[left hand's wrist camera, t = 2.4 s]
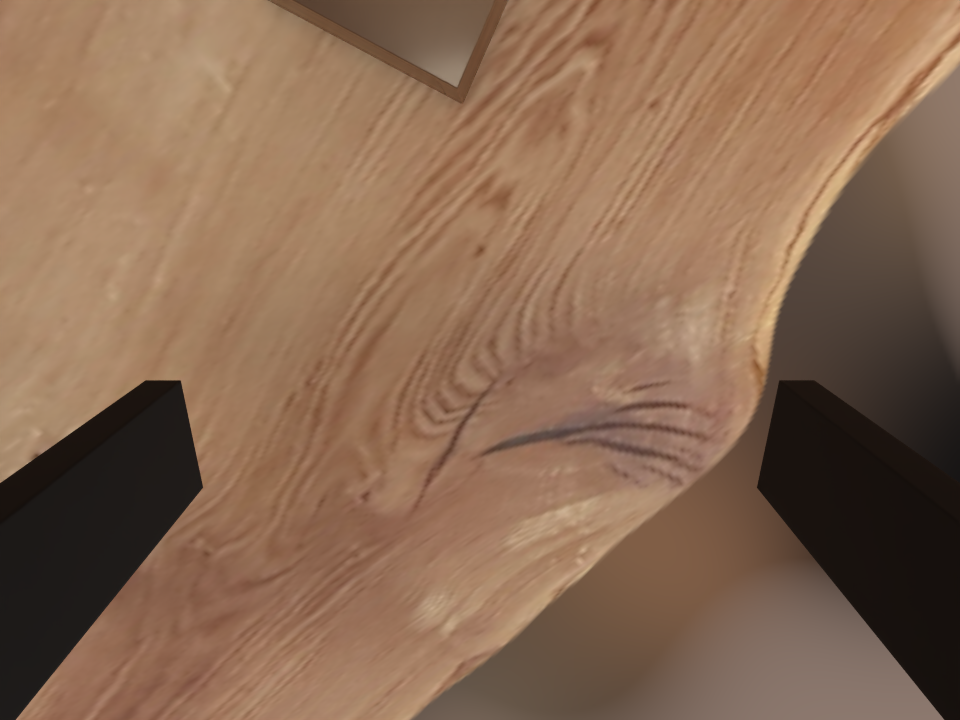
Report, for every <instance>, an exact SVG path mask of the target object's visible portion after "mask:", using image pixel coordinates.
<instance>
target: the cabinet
mask: <svg viewBox="0 0 960 720" xmlns="http://www.w3.org/2000/svg"><path fill="white" fill-rule="evenodd" d="M269 1H270V2H272V3H274V4H276V5H278V6H280V7H282V8H284V9H285V10H287V11H289V12H291V13H293V14H295V15H297V16H299V17H300V18H302V19H304V20H306V21H308V22H310V23H312V24H313V25H315V26H317V27H319V28H321V29H323V30H325V31H327V32H328V33H330V34H332V35H334V36H336V37H338V38H340V39H342V40H343V41H345V42H347V43H349V44H351V45H353V46H355V47H356V48H358V49H360V50H362V51H364V52H366V53H368V54H370V55H371V56H373V57H375V58H377V59H379V60H381V61H383V62H385V63H386V64H388V65H390V66H392V67H394V68H396V69H398V70H400V71H401V72H403V73H405V74H407V75H409V76H411V77H413V78H414V79H416V80H418V81H420V82H422V83H424V84H426V85H428V86H429V87H431V88H433V89H435V90H437V91H439V92H441V93H443V94H444V95H446V96H448V97H450V98H452V99H454V100H456V101H457V102H459V103H461V104H462V103H463V102H464V100H465V97H466V95H467V93H468V90H469V88H470V86H471V84H472V81H473V79H474V77H475V74H476V72H477V70H478V68H479V65H480V63H481V61H482V58H483V56H484V54H485V51H486V49H487V47H488V45H489V42H490V40H491V38H492V35H493V33H494V31H495V29H496V26H497V24H498V22H499V19H500V17H501V15H502V13H503V10H504V8H505V6H506V3H507V1H508V0H269Z"/></svg>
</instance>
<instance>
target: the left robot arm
mask: <svg viewBox="0 0 960 720" xmlns="http://www.w3.org/2000/svg"><path fill="white" fill-rule="evenodd" d="M202 488H203V485H202V481H201V476H200V471H199V466H198V461H197V457H196V452H195V447H194V442H193V437H192V433H191V428H190V423H189V418H188V413H187V409H186V404H185V399H184V394H183V389H182V385H181V381H144V382H143V383H141V384H140V385H139V386H137V387H136V388H134V389H133V390H132V391H130V392H129V393H127V394H126V395H124V396H123V397H122V398H120V399H119V400H117V401H116V402H115V403H113V404H112V405H110V406H109V407H107V408H106V409H105V410H103V411H102V412H100V413H99V414H98V415H96V416H95V417H93V418H92V419H90V420H89V421H88V422H86V423H85V424H83V425H82V426H81V427H79V428H78V429H76V430H75V431H73V432H72V433H71V434H69V435H68V436H66V437H65V438H64V439H62V440H61V441H59V442H58V443H56V444H55V445H54V446H52V447H51V448H49V449H48V450H47V451H45V452H44V453H42V454H41V455H39V456H38V457H37V458H35V459H34V460H32V461H31V462H30V463H28V464H27V465H25V466H24V467H23V468H21V469H20V470H18V471H17V472H15V473H14V474H13V475H11V476H10V477H8V478H7V479H6V480H4V481H3V482H1V483H0V720H16V719H17V717H18V716H19V715H20V714H21V712H22V711H23V710H24V709H25V707H26V706H27V705H28V704H29V702H30V701H31V700H32V699H33V698H34V696H35V695H36V694H37V693H38V691H39V690H40V689H41V688H42V686H43V685H44V684H45V683H46V681H47V680H48V679H49V678H50V676H51V675H52V674H53V673H54V672H55V670H56V669H57V668H58V667H59V665H60V664H61V663H62V662H63V660H64V659H65V658H66V657H67V655H68V654H69V653H70V652H71V650H72V649H73V648H74V647H75V645H76V644H77V643H78V642H79V641H80V639H81V638H82V637H83V636H84V634H85V633H86V632H87V631H88V629H89V628H90V627H91V626H92V624H93V623H94V622H95V621H96V619H97V618H98V617H99V616H100V615H101V613H102V612H103V611H104V610H105V608H106V607H107V606H108V605H109V603H110V602H111V601H112V600H113V598H114V597H115V596H116V595H117V593H118V592H119V591H120V590H121V589H122V587H123V586H124V585H125V584H126V582H127V581H128V580H129V579H130V577H131V576H132V575H133V574H134V572H135V571H136V570H137V569H138V567H139V566H140V565H141V564H142V562H143V561H144V560H145V559H146V558H147V556H148V555H149V554H150V553H151V551H152V550H153V549H154V548H155V546H156V545H157V544H158V543H159V541H160V540H161V539H162V538H163V536H164V535H165V534H166V533H167V532H168V530H169V529H170V528H171V527H172V525H173V524H174V523H175V522H176V520H177V519H178V518H179V517H180V515H181V514H182V513H183V512H184V510H185V509H186V508H187V507H188V506H189V504H190V503H191V502H192V501H193V499H194V498H195V497H196V496H197V494H198V493H199V492H200V491H201V489H202ZM757 488H758V489H759V491H760V492H761V493H762V494H763V496H764V497H765V498H766V499H767V500H768V502H769V503H770V504H771V505H772V507H773V508H774V509H775V510H776V512H777V513H778V514H779V515H780V517H781V518H782V519H783V520H784V522H785V523H786V524H787V525H788V527H789V528H790V529H791V530H792V532H793V533H794V534H795V535H796V536H797V538H798V539H799V540H800V541H801V543H802V544H803V545H804V546H805V548H806V549H807V550H808V551H809V553H810V554H811V555H812V556H813V558H814V559H815V560H816V561H817V562H818V564H819V565H820V566H821V567H822V569H823V570H824V571H825V572H826V574H827V575H828V576H829V577H830V579H831V580H832V581H833V582H834V584H835V585H836V586H837V587H838V588H839V590H840V591H841V592H842V593H843V595H844V596H845V597H846V598H847V600H848V601H849V602H850V603H851V605H852V606H853V607H854V608H855V610H856V611H857V612H858V613H859V615H860V616H861V617H862V618H863V619H864V621H865V622H866V623H867V624H868V626H869V627H870V628H871V629H872V631H873V632H874V633H875V634H876V635H877V637H878V638H879V639H880V641H881V642H882V643H883V644H884V645H885V647H886V648H887V649H888V650H889V652H890V653H891V654H892V655H893V657H894V658H895V659H896V660H897V662H898V663H899V664H900V665H901V667H902V668H903V669H904V670H905V671H906V673H907V674H908V675H909V676H910V678H911V679H912V680H913V681H914V683H915V684H916V685H917V686H918V688H919V689H920V690H921V691H922V693H923V694H924V695H925V696H926V697H927V699H928V700H929V701H930V702H931V704H932V705H933V706H934V707H935V709H936V710H937V711H938V712H939V714H940V715H941V716H942V717H943V719H944V720H960V483H959V482H957V481H956V480H954V479H953V478H952V477H950V476H949V475H947V474H946V473H945V472H943V471H942V470H940V469H939V468H937V467H936V466H935V465H933V464H932V463H930V462H929V461H928V460H926V459H925V458H923V457H922V456H920V455H919V454H918V453H916V452H915V451H913V450H912V449H911V448H909V447H908V446H906V445H905V444H903V443H902V442H901V441H899V440H898V439H896V438H895V437H894V436H892V435H891V434H889V433H888V432H886V431H885V430H884V429H882V428H881V427H879V426H878V425H877V424H875V423H874V422H872V421H871V420H869V419H868V418H867V417H865V416H864V415H862V414H861V413H860V412H858V411H857V410H855V409H854V408H853V407H851V406H850V405H848V404H847V403H845V402H844V401H843V400H841V399H840V398H838V397H837V396H836V395H834V394H833V393H831V392H830V391H828V390H827V389H826V388H824V387H823V386H821V385H820V384H819V383H817V382H816V381H779V385H778V389H777V394H776V399H775V404H774V409H773V414H772V418H771V423H770V428H769V433H768V437H767V443H766V447H765V452H764V457H763V462H762V466H761V471H760V476H759V481H758V486H757Z"/></svg>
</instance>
